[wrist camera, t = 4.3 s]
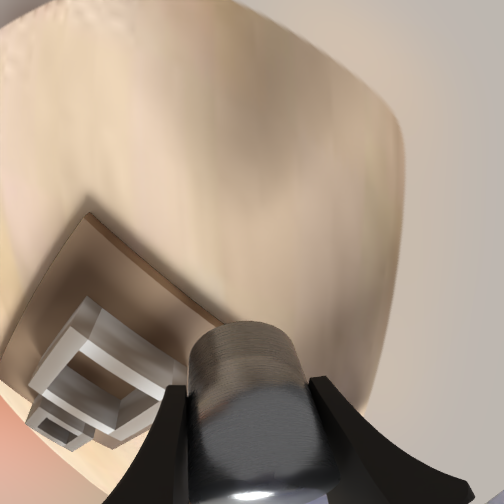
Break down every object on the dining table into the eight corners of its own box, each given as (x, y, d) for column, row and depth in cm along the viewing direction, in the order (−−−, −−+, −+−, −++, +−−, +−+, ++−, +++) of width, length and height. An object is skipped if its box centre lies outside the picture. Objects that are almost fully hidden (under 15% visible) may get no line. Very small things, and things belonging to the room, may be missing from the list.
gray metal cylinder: (314, 357, 12) (364, 476, 7) (240, 406, 13) (258, 519, 8) (246, 300, 11) (280, 453, 5) (166, 363, 11) (157, 499, 6)
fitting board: (256, 348, 20) (266, 391, 17) (113, 442, 24) (109, 473, 21) (89, 212, 15) (60, 239, 11) (-2, 367, 19) (-18, 397, 15)
